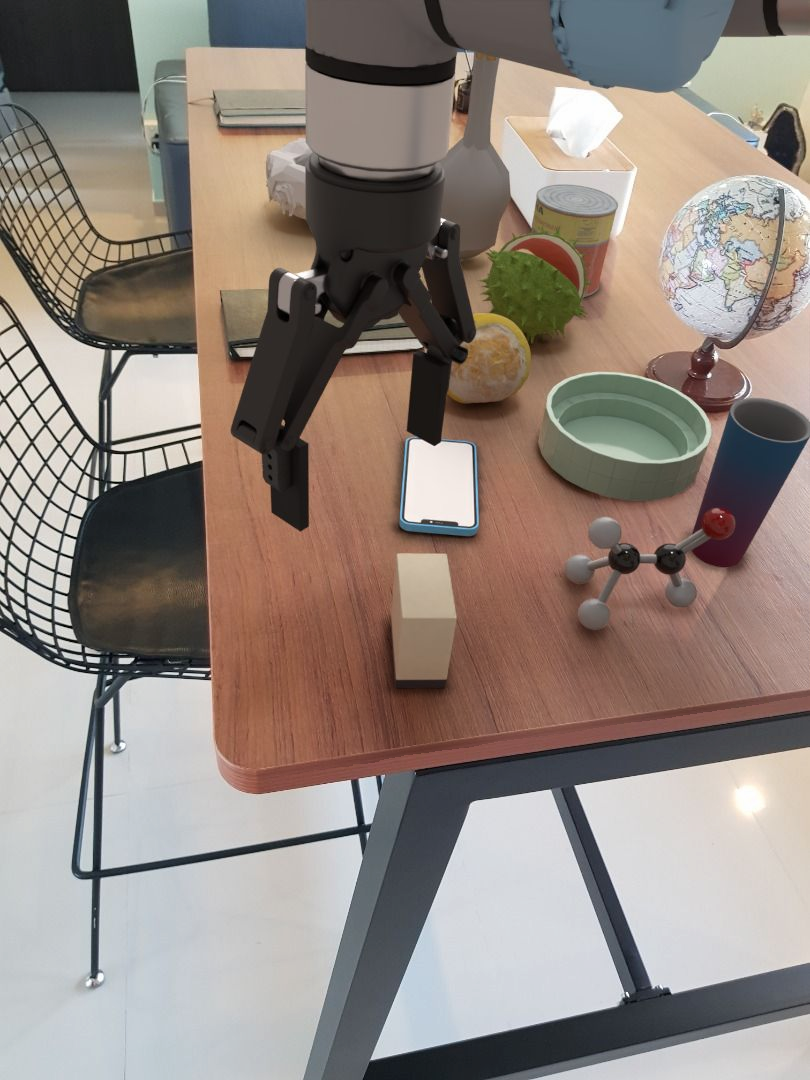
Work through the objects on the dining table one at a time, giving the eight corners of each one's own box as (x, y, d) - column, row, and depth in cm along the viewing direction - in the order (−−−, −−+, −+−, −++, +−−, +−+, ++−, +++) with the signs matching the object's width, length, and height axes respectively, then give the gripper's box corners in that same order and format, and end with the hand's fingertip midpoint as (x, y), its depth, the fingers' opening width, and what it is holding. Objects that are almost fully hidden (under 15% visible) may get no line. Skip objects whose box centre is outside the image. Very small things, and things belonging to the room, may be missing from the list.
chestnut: (620, 258, 111) (618, 279, 98) (557, 350, 118) (549, 381, 105) (522, 195, 110) (507, 207, 97) (465, 291, 117) (445, 315, 104)
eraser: (445, 688, 67) (457, 618, 62) (395, 688, 67) (402, 618, 61) (437, 622, 72) (447, 553, 67) (390, 622, 72) (396, 552, 66)
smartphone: (475, 442, 91) (479, 530, 80) (474, 451, 92) (477, 539, 81) (406, 436, 91) (399, 523, 80) (405, 445, 92) (398, 533, 80)
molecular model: (559, 569, 78) (583, 477, 71) (685, 570, 79) (721, 479, 72) (579, 636, 72) (607, 542, 65) (714, 636, 73) (757, 544, 66)
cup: (724, 522, 85) (779, 393, 75) (766, 567, 81) (830, 436, 71) (666, 532, 83) (714, 402, 73) (705, 579, 79) (762, 447, 69)
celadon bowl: (718, 508, 87) (736, 464, 83) (554, 506, 85) (565, 461, 82) (668, 414, 100) (681, 373, 96) (524, 411, 98) (532, 369, 94)
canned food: (536, 258, 131) (550, 178, 123) (607, 276, 128) (626, 195, 120) (511, 285, 123) (525, 202, 115) (586, 305, 120) (606, 221, 112)
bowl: (365, 191, 148) (367, 129, 141) (413, 237, 134) (418, 171, 127) (248, 200, 140) (245, 136, 134) (287, 250, 127) (285, 181, 120)
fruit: (420, 379, 102) (427, 301, 95) (504, 373, 104) (517, 297, 98) (444, 427, 94) (454, 346, 88) (534, 419, 97) (550, 340, 90)
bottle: (410, 260, 127) (428, 31, 107) (449, 238, 134) (473, 20, 115) (475, 283, 123) (507, 49, 103) (512, 259, 130) (548, 36, 110)
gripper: (463, 102, 54) (432, 389, 68) (135, 187, 39) (182, 532, 53) (561, 132, 51) (508, 427, 65) (244, 237, 36) (263, 592, 50)
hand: (361, 475), depth 59 cm, fingers open, 13 cm apart
